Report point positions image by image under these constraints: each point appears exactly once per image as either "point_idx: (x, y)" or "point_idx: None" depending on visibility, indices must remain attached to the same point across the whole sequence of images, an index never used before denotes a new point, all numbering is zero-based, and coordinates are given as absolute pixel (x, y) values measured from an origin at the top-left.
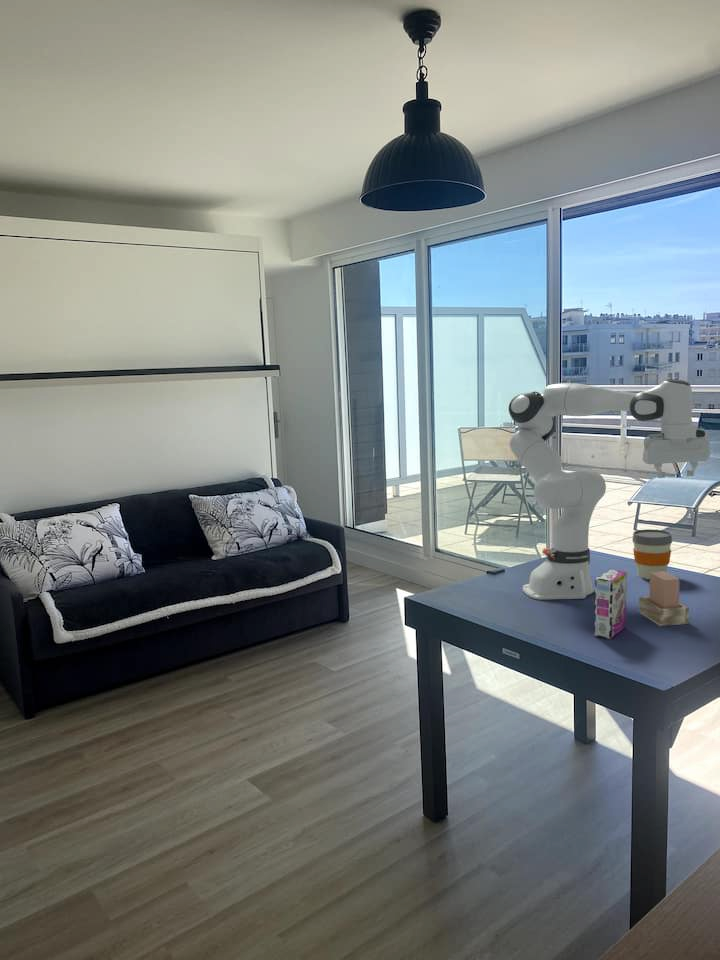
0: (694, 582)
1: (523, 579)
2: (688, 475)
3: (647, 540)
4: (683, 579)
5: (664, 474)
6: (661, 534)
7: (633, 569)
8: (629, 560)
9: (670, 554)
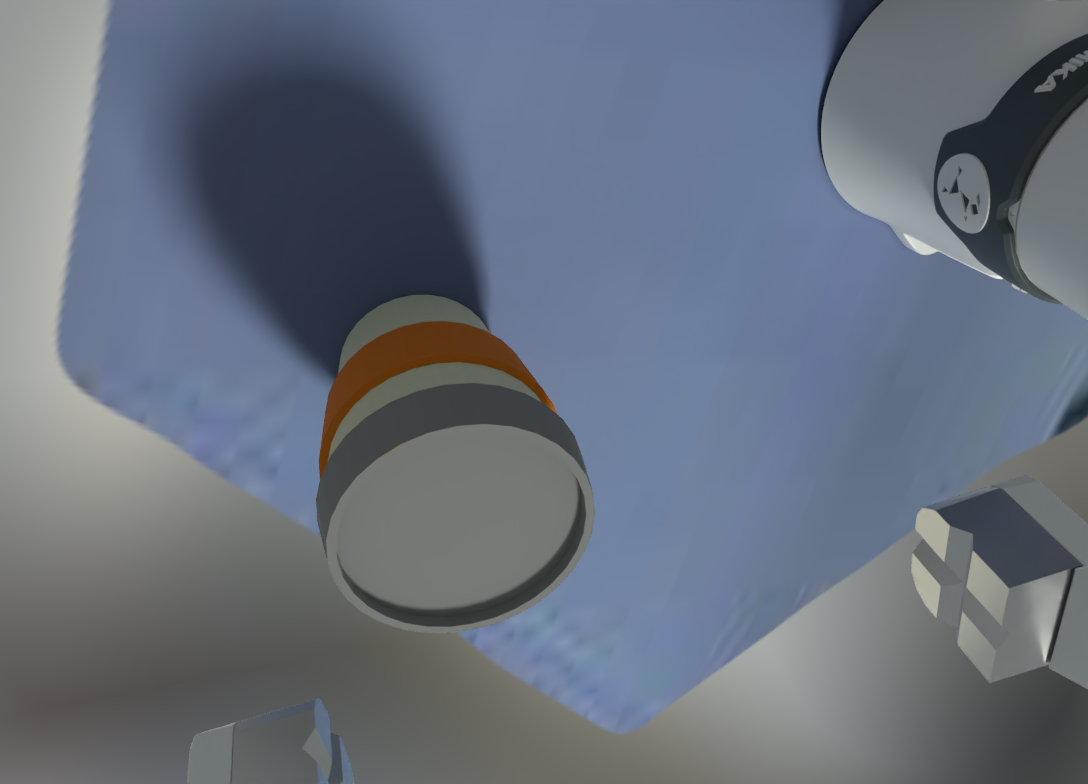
0: (186, 243)
1: None
2: (328, 726)
3: (529, 416)
4: (245, 304)
5: (991, 545)
6: (388, 551)
7: None
8: None
9: (326, 420)
